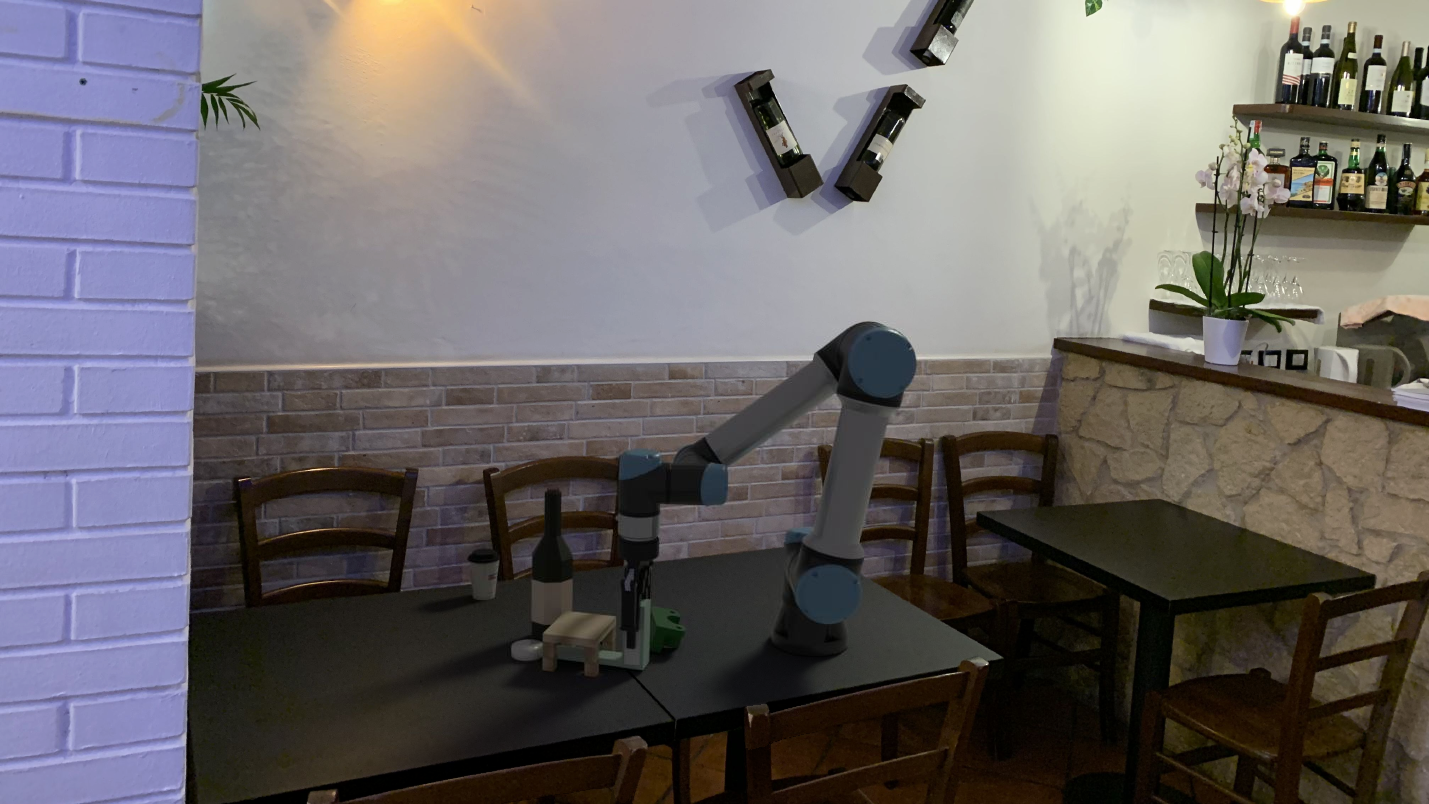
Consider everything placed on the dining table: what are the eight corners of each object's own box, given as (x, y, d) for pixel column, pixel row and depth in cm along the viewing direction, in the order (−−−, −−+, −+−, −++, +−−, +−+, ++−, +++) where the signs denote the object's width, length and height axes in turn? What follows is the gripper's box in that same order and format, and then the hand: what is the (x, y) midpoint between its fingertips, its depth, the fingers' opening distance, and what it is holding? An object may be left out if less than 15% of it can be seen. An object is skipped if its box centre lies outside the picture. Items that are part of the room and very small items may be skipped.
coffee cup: (462, 600, 228) (461, 555, 226) (474, 589, 235) (474, 545, 233) (493, 603, 227) (493, 557, 225) (505, 592, 233) (505, 548, 232)
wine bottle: (564, 647, 204) (566, 495, 199) (523, 643, 206) (524, 491, 201) (578, 632, 212) (581, 485, 208) (539, 627, 214) (540, 481, 209)
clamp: (672, 671, 206) (687, 638, 202) (642, 666, 205) (657, 632, 200) (670, 627, 216) (684, 595, 212) (642, 621, 215) (655, 589, 210)
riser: (615, 651, 203) (616, 616, 202) (595, 676, 192) (595, 639, 191) (565, 645, 205) (566, 610, 204) (542, 670, 194) (542, 633, 193)
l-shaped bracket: (648, 661, 198) (650, 599, 196) (642, 670, 194) (644, 606, 192) (546, 648, 202) (547, 587, 200) (538, 656, 198) (539, 594, 196)
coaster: (548, 651, 203) (548, 641, 203) (537, 663, 197) (537, 653, 197) (518, 648, 204) (518, 638, 204) (506, 660, 198) (506, 649, 198)
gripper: (632, 521, 201) (629, 639, 205) (603, 546, 185) (601, 674, 189) (670, 524, 200) (667, 643, 204) (645, 551, 183) (642, 680, 187)
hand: (635, 658), depth 196 cm, fingers closed on l-shaped bracket, 4 cm apart
